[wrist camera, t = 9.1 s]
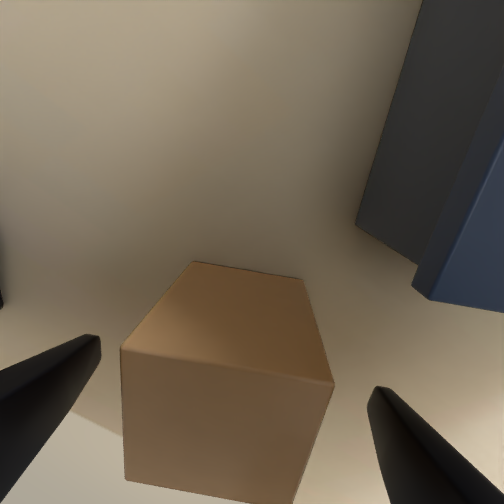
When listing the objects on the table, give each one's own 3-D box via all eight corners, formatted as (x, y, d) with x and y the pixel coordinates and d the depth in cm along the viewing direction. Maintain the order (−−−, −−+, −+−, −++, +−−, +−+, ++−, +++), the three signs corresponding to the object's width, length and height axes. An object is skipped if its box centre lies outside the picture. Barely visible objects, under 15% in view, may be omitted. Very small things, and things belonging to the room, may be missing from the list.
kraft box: (185, 350, 11) (123, 481, 6) (191, 260, 10) (117, 346, 5) (281, 367, 11) (291, 512, 6) (304, 279, 10) (337, 385, 5)
